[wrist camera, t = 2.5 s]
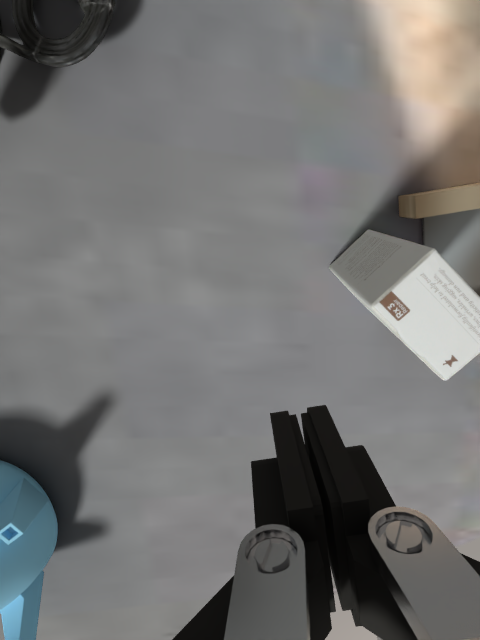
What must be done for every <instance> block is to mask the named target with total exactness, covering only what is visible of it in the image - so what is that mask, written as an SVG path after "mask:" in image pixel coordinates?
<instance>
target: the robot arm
mask: <svg viewBox="0 0 480 640" xmlns="http://www.w3.org/2000/svg"><path fill="white" fill-rule="evenodd" d="M270 416H271V423H272V429H273V436H274V442H275V449H276V455H277V458H271V459H264V460H258V461H251V468H252V483H253V497H254V512H255V526H256V529H254V530H253V531H251V532H250V533H249V534H247V535H246V536H245V538H244V539H243V540H242V542H241V544H240V547H239V550H238V555H237V561H236V568H235V574H234V576H233V577H232V578H231V579H230V580H229V581H228V582H227V583H226V584H225V585H224V586H223V587H222V588H221V590H220V591H219V592H218V593H217V594H216V595H215V596H214V597H213V598H212V599H211V600H210V601H209V602H208V603H207V604H206V605H205V606H204V607H203V608H202V609H201V610H200V611H199V612H198V613H197V615H196V616H195V617H194V618H193V619H192V620H191V621H190V622H189V623H188V624H187V625H186V626H185V627H184V628H183V629H182V630H181V631H180V632H179V633H178V634H177V635H176V636H175V637H174V639H173V640H325V638H326V637H327V635H328V634H329V632H330V631H331V629H332V626H331V618H330V612H335V611H336V609H335V601H334V593H333V585H332V576H331V570H332V574H333V577H334V581H335V585H336V589H337V592H338V596H339V600H340V603H341V607H342V610H343V611H345V610H351V612H352V615H353V619H354V622H355V625H356V626H363V627H365V628H366V629H368V630H369V631H371V632H372V633H374V634H375V635H377V638H378V640H480V562H479V561H476V560H474V559H472V558H470V557H468V556H465V555H463V554H461V553H460V552H459V551H458V550H457V549H456V548H455V546H454V545H453V544H452V543H451V542H450V541H449V539H448V538H447V537H446V536H445V535H444V534H443V532H442V531H441V530H440V529H439V528H438V526H437V525H436V524H435V523H434V522H433V521H432V520H431V519H430V518H429V517H427V516H426V515H424V514H422V513H421V512H419V511H417V510H413V509H410V508H407V507H396V505H395V504H394V502H393V500H392V498H391V496H390V494H389V492H388V490H387V489H386V487H385V485H384V483H383V481H382V479H381V477H380V476H379V474H378V472H377V470H376V468H375V466H374V464H373V462H372V461H371V459H370V457H369V455H368V453H367V451H366V449H365V448H364V446H362V445H359V446H352V447H346V448H345V446H344V444H343V441H342V439H341V437H340V435H339V433H338V431H337V428H336V426H335V424H334V422H333V420H332V417H331V415H330V413H329V411H328V409H327V407H326V405H322V406H315V407H309V408H307V413H302V414H301V418H302V426H303V434H304V441H305V444H304V441H303V437H302V434H301V430H300V427H299V424H298V420H297V417H296V414H295V415H289V413H288V411H282V412H276V413H270ZM330 566H331V568H330Z"/></svg>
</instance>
